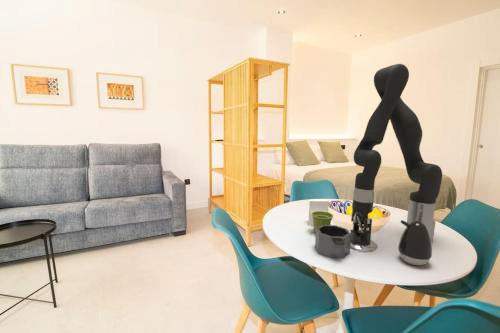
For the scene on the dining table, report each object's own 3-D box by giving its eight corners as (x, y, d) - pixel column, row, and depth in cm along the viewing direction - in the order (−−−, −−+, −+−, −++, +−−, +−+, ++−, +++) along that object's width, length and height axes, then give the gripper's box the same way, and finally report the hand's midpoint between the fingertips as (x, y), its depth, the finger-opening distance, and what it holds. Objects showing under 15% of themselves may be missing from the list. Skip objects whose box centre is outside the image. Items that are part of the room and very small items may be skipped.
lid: (368, 238, 114) (370, 225, 113) (383, 253, 101) (384, 238, 100) (338, 238, 114) (339, 224, 113) (349, 252, 101) (350, 237, 100)
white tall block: (324, 220, 134) (326, 197, 132) (329, 227, 125) (331, 203, 123) (306, 220, 134) (308, 197, 132) (310, 227, 125) (311, 202, 123)
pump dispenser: (399, 251, 102) (403, 214, 99) (431, 261, 95) (437, 221, 93) (393, 262, 94) (398, 221, 91) (428, 272, 87) (434, 229, 85)
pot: (340, 241, 110) (341, 223, 109) (355, 262, 93) (357, 241, 92) (311, 240, 110) (312, 222, 109) (321, 261, 94) (323, 240, 92)
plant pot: (333, 238, 113) (334, 218, 112) (310, 236, 115) (311, 217, 114) (331, 229, 122) (332, 211, 121) (310, 227, 124) (311, 210, 123)
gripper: (380, 204, 97) (376, 245, 100) (365, 194, 112) (361, 231, 114) (360, 204, 98) (356, 245, 100) (347, 194, 112) (344, 230, 114)
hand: (359, 237), depth 107 cm, fingers open, 8 cm apart
